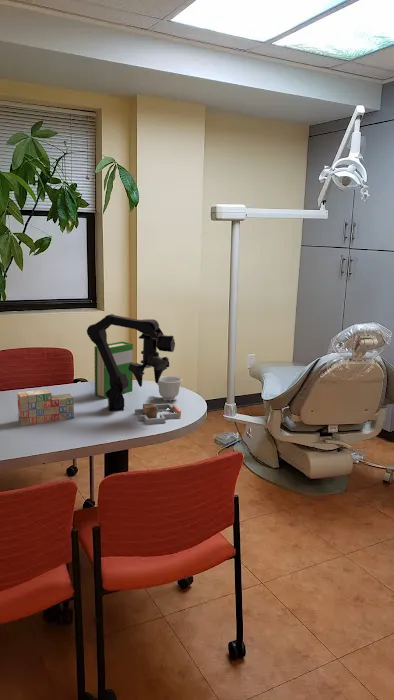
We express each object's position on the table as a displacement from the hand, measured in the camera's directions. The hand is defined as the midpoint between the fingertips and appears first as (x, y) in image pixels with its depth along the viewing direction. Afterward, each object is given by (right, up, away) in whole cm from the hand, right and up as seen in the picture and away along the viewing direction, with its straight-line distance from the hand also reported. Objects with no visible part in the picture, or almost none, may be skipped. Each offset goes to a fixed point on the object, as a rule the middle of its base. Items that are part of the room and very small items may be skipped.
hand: (148, 384), depth 234 cm
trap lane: (+4, -13, -1) cm, 14 cm away
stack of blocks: (-41, -14, -10) cm, 45 cm away
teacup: (+7, -8, +24) cm, 26 cm away
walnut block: (+1, -13, -2) cm, 14 cm away
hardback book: (-19, -6, +29) cm, 35 cm away
